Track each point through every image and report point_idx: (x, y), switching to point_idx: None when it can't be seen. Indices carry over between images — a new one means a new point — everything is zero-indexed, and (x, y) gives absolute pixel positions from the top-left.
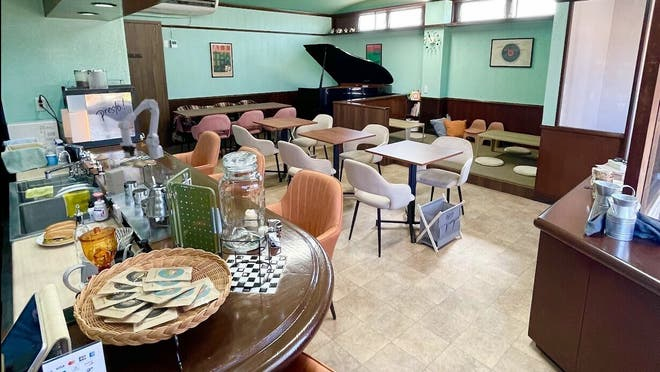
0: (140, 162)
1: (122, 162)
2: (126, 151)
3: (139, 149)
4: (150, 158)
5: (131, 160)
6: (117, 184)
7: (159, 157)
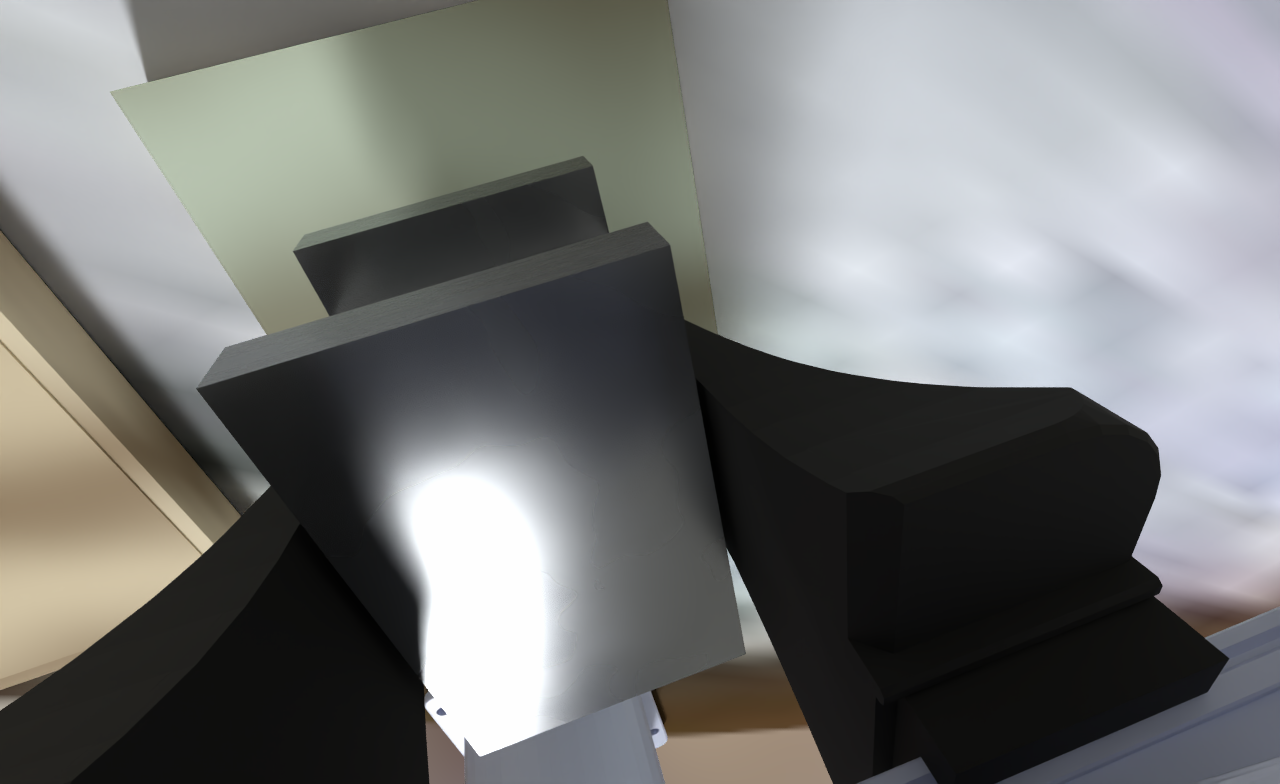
0: (20, 430)
1: (629, 58)
2: (473, 421)
3: (1210, 624)
4: None
5: None
6: None
7: (463, 751)
